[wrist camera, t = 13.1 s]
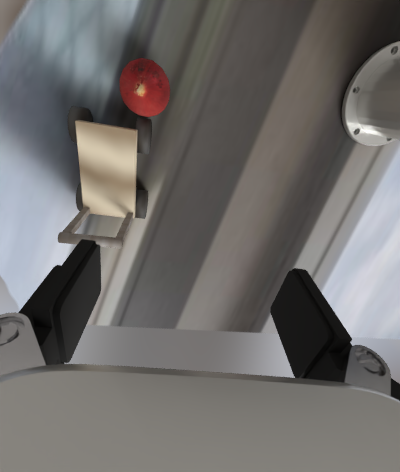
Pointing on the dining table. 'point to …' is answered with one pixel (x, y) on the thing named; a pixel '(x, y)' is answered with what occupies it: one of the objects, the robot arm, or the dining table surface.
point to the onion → (144, 87)
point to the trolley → (107, 174)
